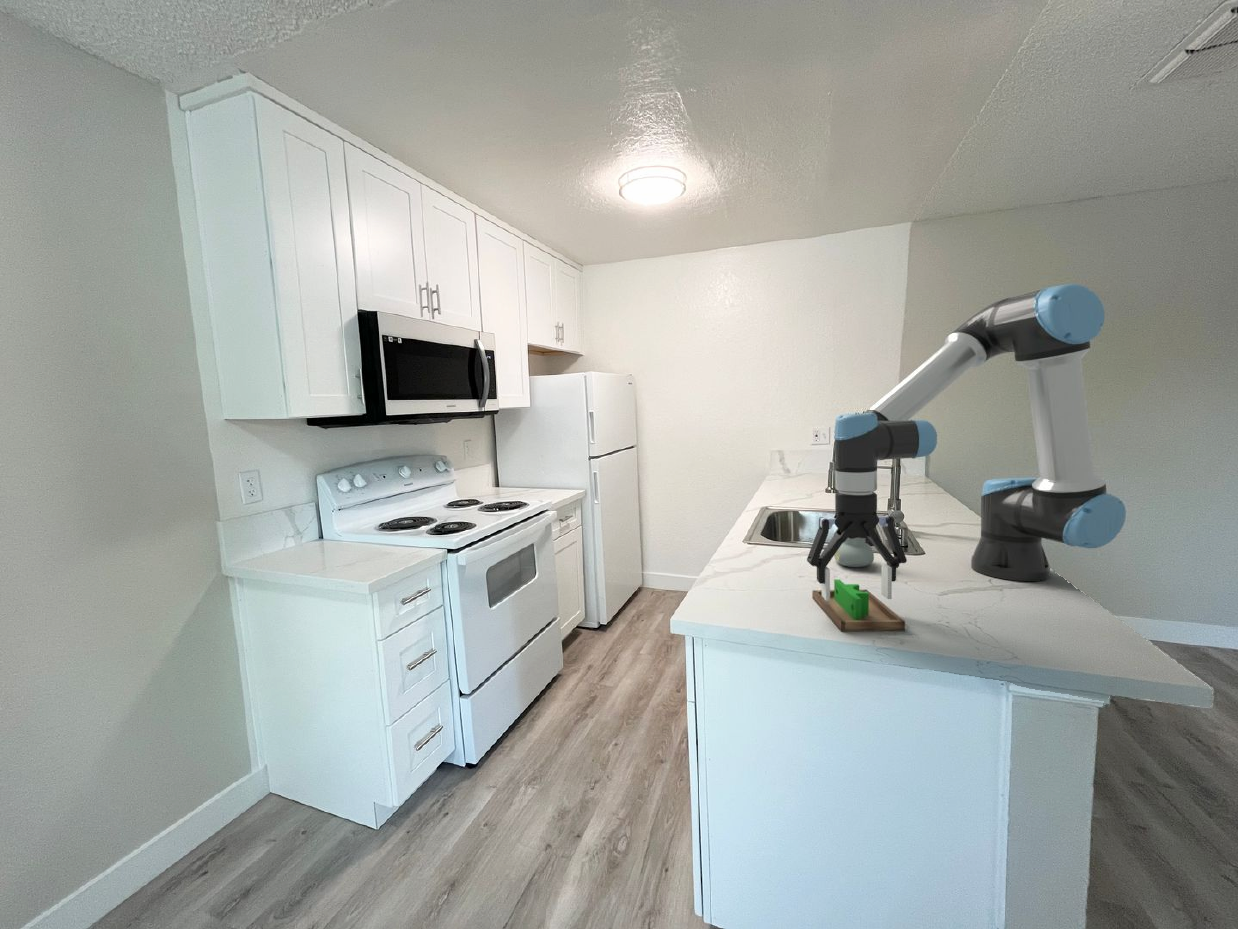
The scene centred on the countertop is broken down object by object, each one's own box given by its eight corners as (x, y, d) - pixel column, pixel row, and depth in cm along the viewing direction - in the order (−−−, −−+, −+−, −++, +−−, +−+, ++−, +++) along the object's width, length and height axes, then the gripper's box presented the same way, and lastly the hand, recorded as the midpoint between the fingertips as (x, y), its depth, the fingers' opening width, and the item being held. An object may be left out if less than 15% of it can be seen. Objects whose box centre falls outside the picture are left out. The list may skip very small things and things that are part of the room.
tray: (866, 597, 109) (866, 589, 109) (904, 630, 92) (905, 621, 92) (812, 598, 110) (812, 590, 109) (840, 631, 93) (841, 622, 93)
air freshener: (831, 558, 138) (831, 522, 136) (863, 558, 136) (864, 523, 135) (841, 570, 127) (841, 532, 126) (875, 571, 125) (876, 533, 124)
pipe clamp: (875, 621, 96) (875, 599, 95) (855, 622, 96) (855, 599, 95) (851, 599, 107) (852, 578, 106) (834, 599, 107) (834, 579, 106)
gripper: (907, 486, 101) (906, 589, 104) (789, 491, 103) (791, 592, 105) (928, 492, 94) (926, 603, 96) (800, 497, 95) (802, 606, 98)
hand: (856, 597), depth 101 cm, fingers open, 11 cm apart
